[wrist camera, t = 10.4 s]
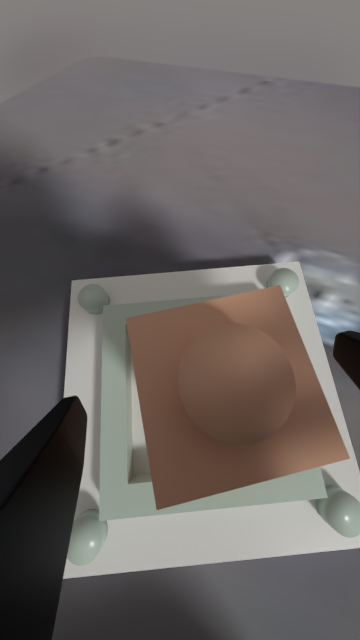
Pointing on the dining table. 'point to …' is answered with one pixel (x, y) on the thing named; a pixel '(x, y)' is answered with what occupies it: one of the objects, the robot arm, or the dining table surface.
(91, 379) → the base plate
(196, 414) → the tall brick
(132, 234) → the dining table surface
